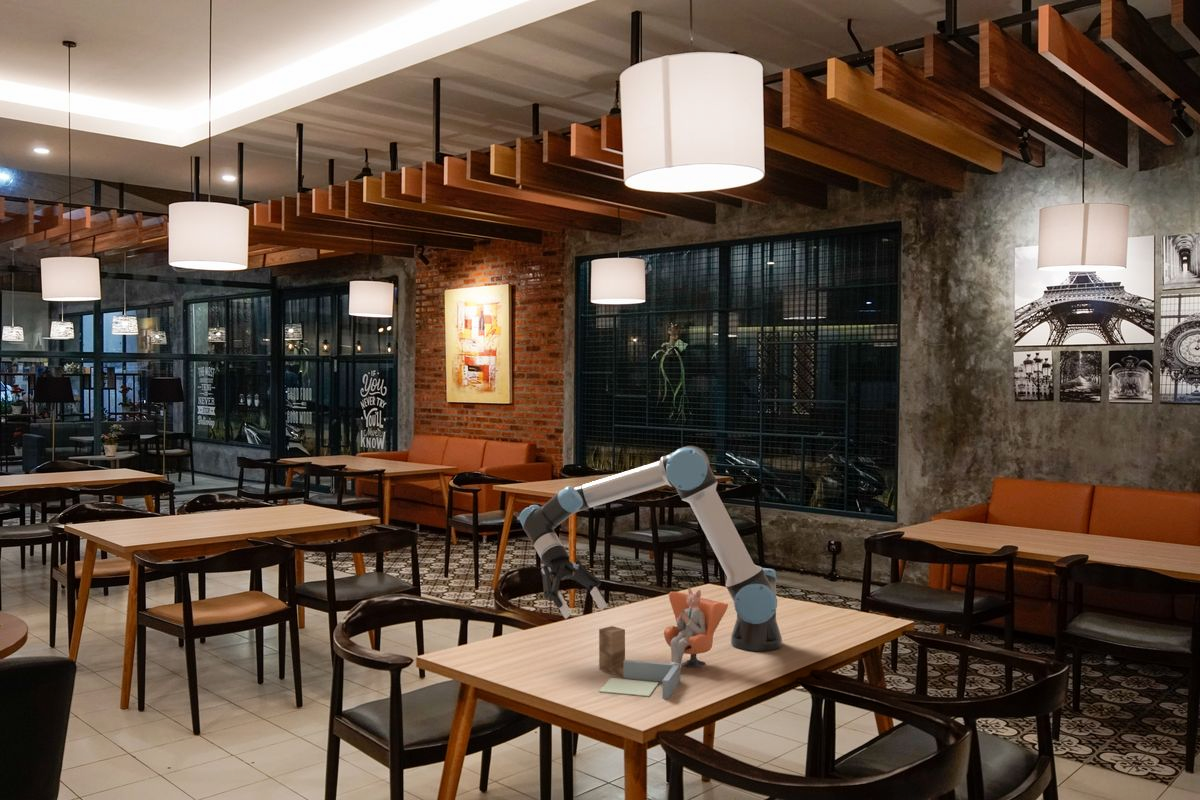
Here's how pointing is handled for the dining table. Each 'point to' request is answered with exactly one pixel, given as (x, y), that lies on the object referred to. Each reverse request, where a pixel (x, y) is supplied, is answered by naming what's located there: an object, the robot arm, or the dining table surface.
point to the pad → (629, 687)
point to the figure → (692, 626)
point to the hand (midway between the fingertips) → (586, 611)
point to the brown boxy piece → (612, 650)
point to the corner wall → (654, 674)
